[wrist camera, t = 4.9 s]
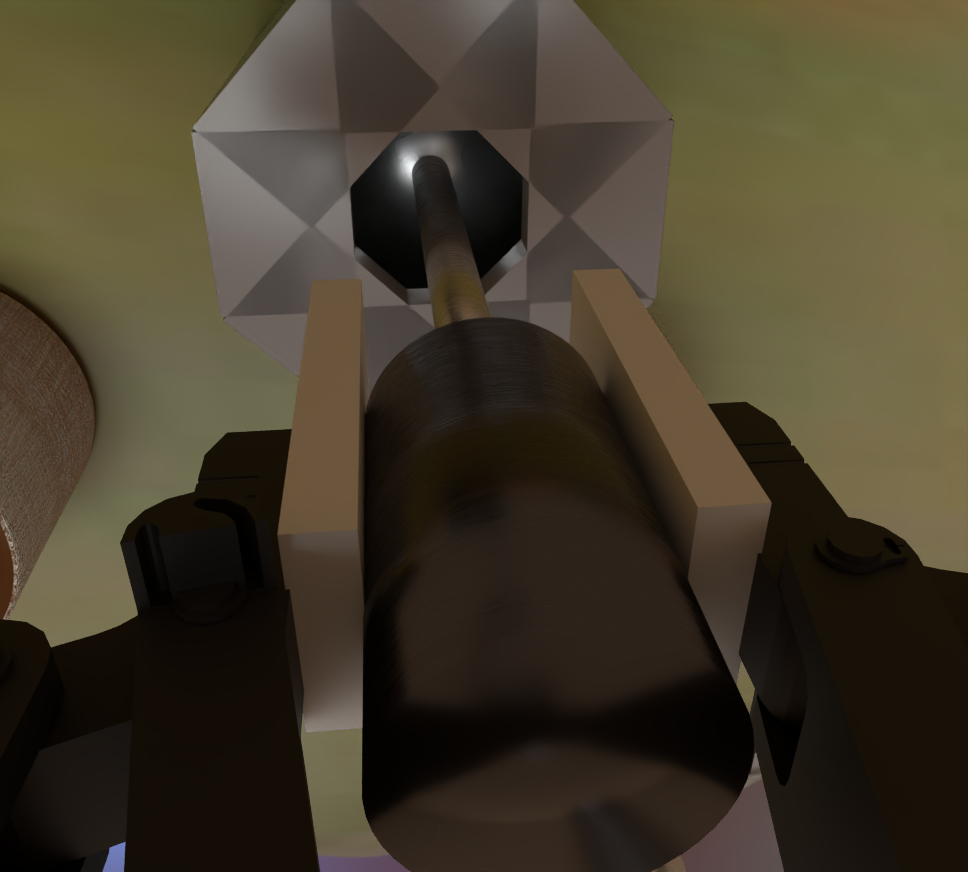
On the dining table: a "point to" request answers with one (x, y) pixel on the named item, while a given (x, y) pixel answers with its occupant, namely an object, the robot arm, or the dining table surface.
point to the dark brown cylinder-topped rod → (518, 574)
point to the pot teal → (415, 108)
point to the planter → (36, 440)
